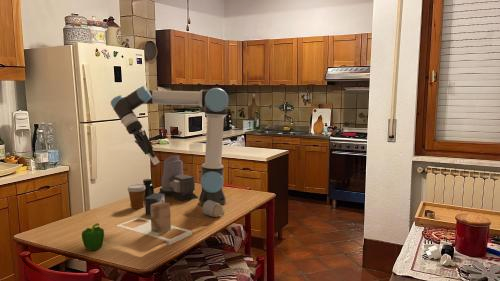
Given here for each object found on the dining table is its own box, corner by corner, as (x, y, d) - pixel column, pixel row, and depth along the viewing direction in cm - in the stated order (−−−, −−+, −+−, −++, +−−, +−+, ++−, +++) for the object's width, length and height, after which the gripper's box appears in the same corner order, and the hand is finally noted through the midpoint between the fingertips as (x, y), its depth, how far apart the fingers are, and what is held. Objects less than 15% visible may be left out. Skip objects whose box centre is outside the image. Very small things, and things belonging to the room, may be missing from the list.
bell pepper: (82, 254, 149) (81, 229, 148) (82, 246, 157) (81, 223, 155) (105, 250, 153) (104, 226, 151) (104, 243, 160) (103, 220, 159)
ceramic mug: (213, 219, 188) (213, 204, 187) (202, 216, 193) (202, 201, 192) (228, 214, 196) (228, 200, 195) (217, 211, 201) (217, 197, 200)
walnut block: (151, 230, 169) (150, 204, 168) (161, 226, 174) (160, 201, 173) (160, 233, 166) (159, 207, 164) (170, 229, 171) (169, 203, 169)
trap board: (116, 228, 177) (115, 225, 176) (139, 220, 188) (139, 217, 188) (169, 244, 157) (169, 241, 157) (192, 234, 169) (192, 230, 169)
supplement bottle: (139, 199, 223) (138, 180, 222) (149, 197, 229) (148, 177, 227) (147, 201, 219) (146, 181, 218) (156, 199, 224) (155, 179, 223)
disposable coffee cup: (133, 211, 202) (131, 189, 201) (125, 207, 209) (124, 186, 208) (149, 207, 208) (148, 186, 207) (141, 203, 216) (140, 183, 214)
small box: (157, 219, 189) (156, 198, 188) (145, 218, 191) (144, 198, 189) (166, 212, 200) (165, 193, 198) (154, 211, 201) (153, 192, 200)
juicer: (154, 192, 240) (152, 154, 237) (176, 188, 250) (175, 151, 247) (178, 202, 217) (176, 160, 214) (201, 197, 228) (200, 157, 224)
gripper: (123, 132, 194) (147, 170, 192) (127, 121, 183) (153, 162, 182) (135, 126, 198) (159, 164, 197) (141, 116, 188) (166, 155, 186)
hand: (156, 163), depth 189 cm, fingers closed
